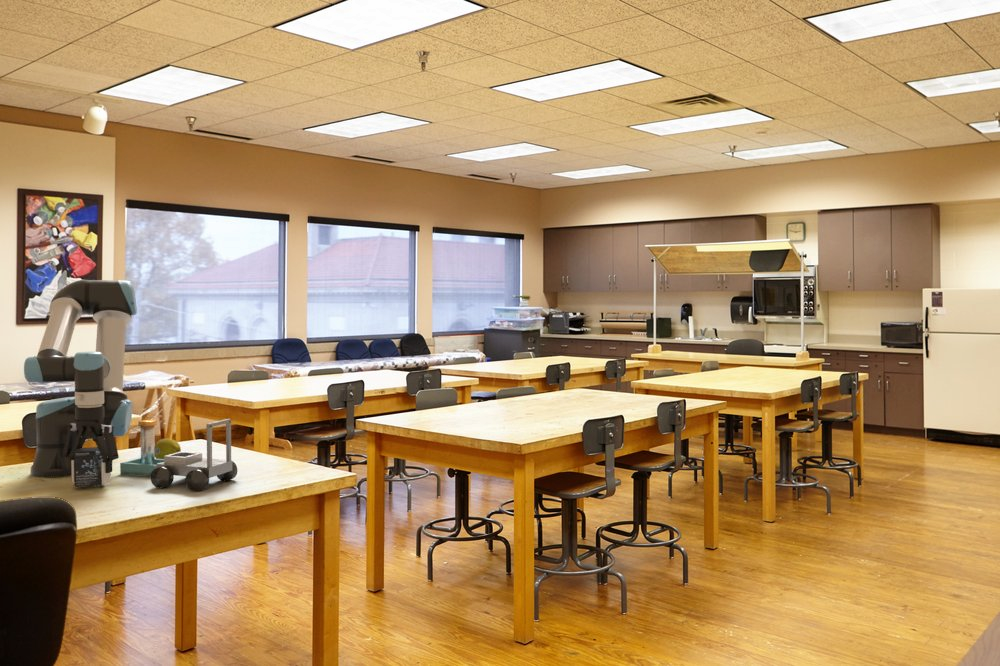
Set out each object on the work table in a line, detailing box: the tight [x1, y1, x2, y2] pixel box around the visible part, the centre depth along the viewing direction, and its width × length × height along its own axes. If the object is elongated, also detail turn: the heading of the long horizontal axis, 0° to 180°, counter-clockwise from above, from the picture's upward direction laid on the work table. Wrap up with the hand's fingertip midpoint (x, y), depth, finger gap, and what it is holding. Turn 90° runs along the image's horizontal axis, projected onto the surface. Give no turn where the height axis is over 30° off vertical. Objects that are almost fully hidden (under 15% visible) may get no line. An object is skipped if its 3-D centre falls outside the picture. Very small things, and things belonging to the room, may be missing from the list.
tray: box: [119, 457, 164, 477], centre depth 253 cm, size 13×9×4 cm
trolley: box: [150, 418, 238, 493], centre depth 238 cm, size 18×16×19 cm
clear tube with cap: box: [137, 419, 157, 465], centre depth 253 cm, size 5×5×15 cm
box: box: [73, 446, 105, 488], centre depth 233 cm, size 8×6×11 cm
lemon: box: [155, 438, 182, 459], centre depth 269 cm, size 11×8×8 cm
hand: (91, 482), depth 233 cm, fingers closed on box, 9 cm apart
